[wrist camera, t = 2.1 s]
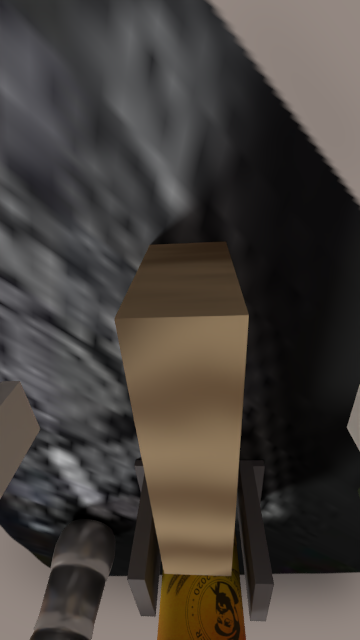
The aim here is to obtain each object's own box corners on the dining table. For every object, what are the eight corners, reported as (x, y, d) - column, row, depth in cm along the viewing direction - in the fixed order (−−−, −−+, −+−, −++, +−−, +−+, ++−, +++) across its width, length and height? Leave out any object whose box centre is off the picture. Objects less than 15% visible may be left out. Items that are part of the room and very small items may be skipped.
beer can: (242, 479, 29) (279, 748, 16) (210, 507, 32) (219, 755, 19) (187, 458, 28) (180, 731, 15) (159, 490, 31) (132, 741, 18)
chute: (135, 459, 28) (112, 578, 20) (263, 460, 27) (290, 584, 19) (144, 500, 32) (128, 615, 24) (258, 502, 31) (279, 622, 23)
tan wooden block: (150, 244, 18) (114, 318, 10) (225, 240, 17) (248, 315, 10) (173, 454, 28) (164, 573, 20) (221, 455, 27) (231, 576, 20)
